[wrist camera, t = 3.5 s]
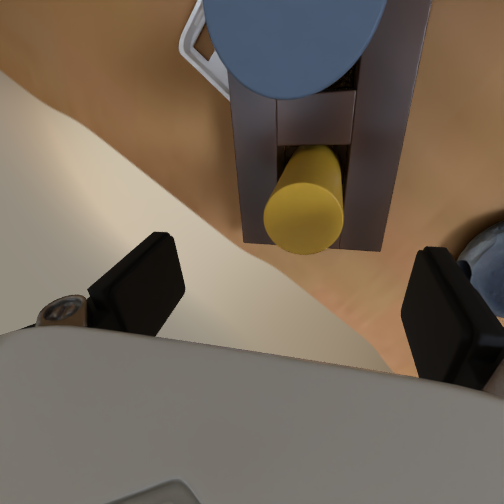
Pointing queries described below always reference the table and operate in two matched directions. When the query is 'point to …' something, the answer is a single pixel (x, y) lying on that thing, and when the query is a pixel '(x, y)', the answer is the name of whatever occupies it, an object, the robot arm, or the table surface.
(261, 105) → the stand
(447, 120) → the table surface
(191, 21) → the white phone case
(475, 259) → the electronic device
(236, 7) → the blue peg
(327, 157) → the mustard peg
